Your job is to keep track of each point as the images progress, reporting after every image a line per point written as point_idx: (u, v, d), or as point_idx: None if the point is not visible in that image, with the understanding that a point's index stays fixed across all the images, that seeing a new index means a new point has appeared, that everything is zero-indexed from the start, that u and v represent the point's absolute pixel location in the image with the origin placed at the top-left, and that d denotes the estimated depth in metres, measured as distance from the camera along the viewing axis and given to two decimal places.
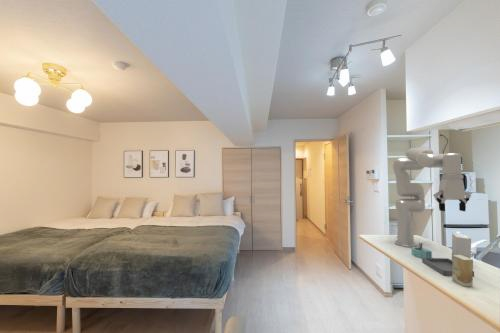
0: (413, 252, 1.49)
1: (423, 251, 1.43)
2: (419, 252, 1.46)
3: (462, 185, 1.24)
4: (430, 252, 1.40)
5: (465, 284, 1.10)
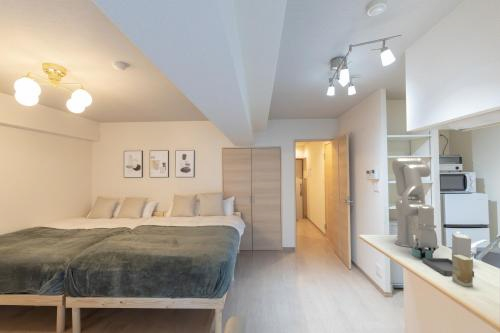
0: (413, 252, 1.49)
1: None
2: (419, 252, 1.46)
3: (435, 235, 1.40)
4: (430, 252, 1.40)
5: (465, 284, 1.10)
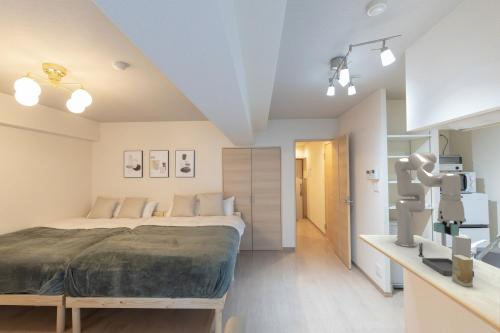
0: (436, 227, 1.31)
1: None
2: (443, 227, 1.28)
3: (461, 206, 1.23)
4: (456, 226, 1.23)
5: (465, 284, 1.10)
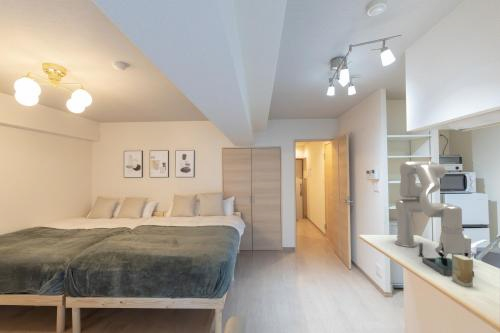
0: (438, 263, 1.30)
1: (450, 263, 1.24)
2: None
3: (463, 239, 1.22)
4: None
5: (465, 284, 1.10)
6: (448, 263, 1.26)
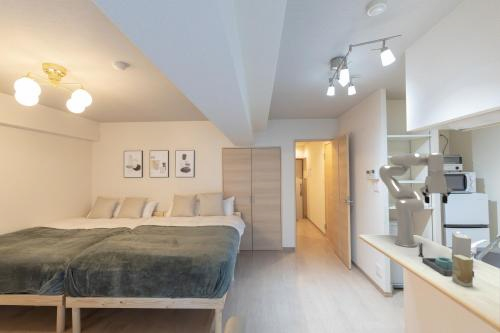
0: (438, 263, 1.30)
1: (450, 263, 1.24)
2: (445, 263, 1.27)
3: (444, 181, 1.42)
4: None
5: (465, 284, 1.10)
6: (448, 263, 1.26)
